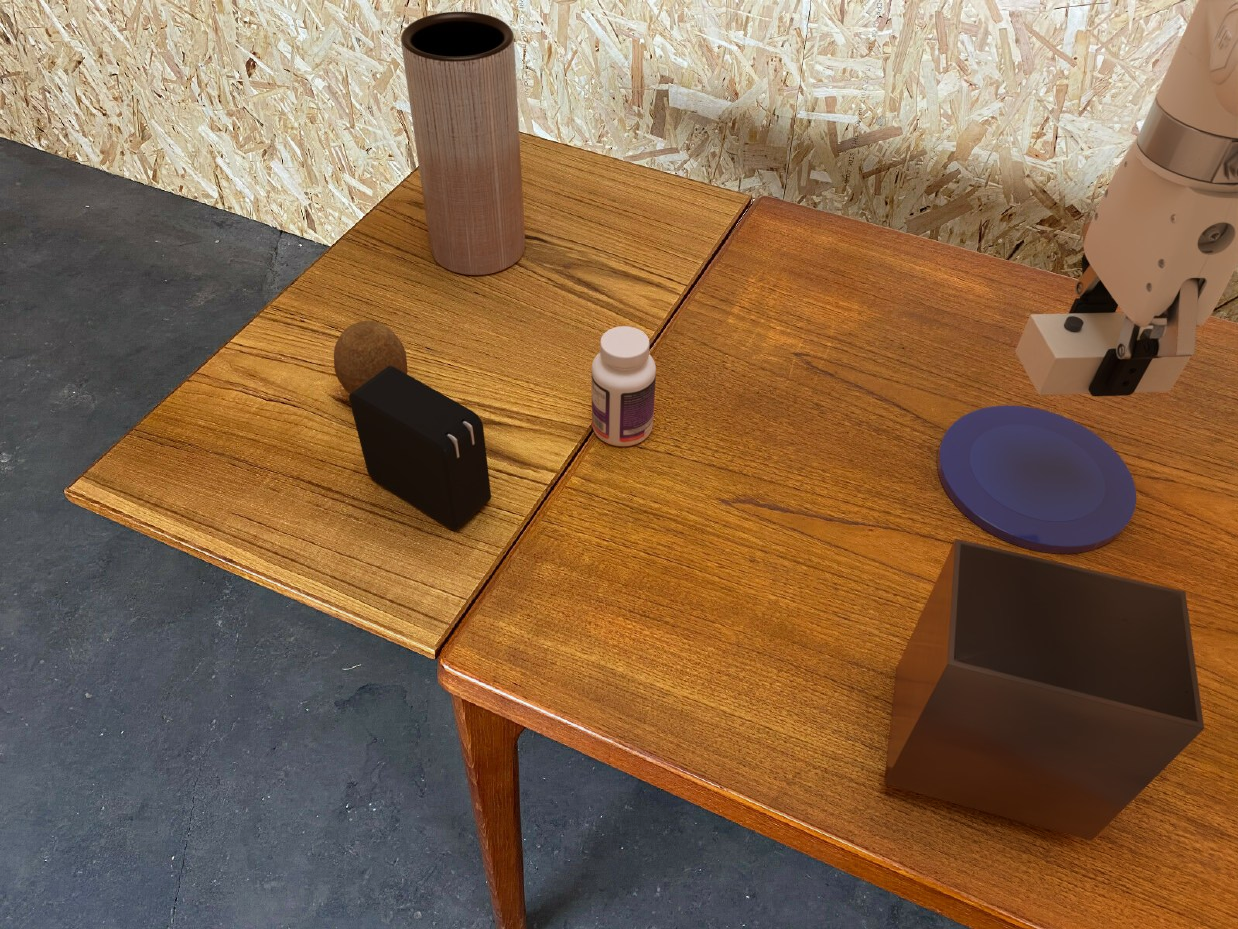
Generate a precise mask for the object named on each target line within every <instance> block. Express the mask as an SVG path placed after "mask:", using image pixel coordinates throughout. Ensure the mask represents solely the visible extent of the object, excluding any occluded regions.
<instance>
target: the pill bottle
mask: <svg viewBox="0 0 1238 929" xmlns="http://www.w3.org/2000/svg"><path fill="white" fill-rule="evenodd" d="M590 374H591V426H592V430H593V432H594V434H595V435H596V437H597V438H598V439H600V440H601V441H602V442H604V443H606V444H609V445H611V446H614V447H615V446H616V447H631V446H635V445H637V444H639V443H642V442H643V441H645V440H646V439H647V438H648V437H649V436H650V434H651V433H652V430H653V427H654V416H655V414H654V413H655V396H656V395H655V394H656V381H657V380H656V379H657V366H656V362H655V360H654V358H653V356H652V355H651V353H650V339H649V336H648V335H647V334H646V333H645V332H644V331H643V330H642V329H639V328H637V327H633V326H629V325H623V326H622V325H621V326H615V327H612V328H610V329H607V330H606V331H605V332H603V334H602V335H601V338H600V344H599V352H598V353H597V354H596V355H595V357H594V358H593V361H592V364H591V373H590Z"/></svg>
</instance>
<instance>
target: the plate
mask: <svg viewBox="0 0 1238 929" xmlns="http://www.w3.org/2000/svg"><path fill="white" fill-rule="evenodd" d="M936 468H937V473H938V478H939V480H940V482H941V486H942V487H943V489H944V491H945V493H946V495H947V497H949V499H950V500H951V502H952V503H953V504H954V505H955V507H956V508H957V509H958V510H959V512H961V513H962V514H963V515H964V516H966V518H967V519H969V520H970V521H971V522H972V523H974V524H975V525H976V526H977V527H979V528H981V529H982V530H983V531H985V532H987V533H988V534H990V535H992V536H994V537H995V538H998V539H1000V540H1002V541H1004V542H1006V543H1009V544H1012V545H1015V546H1017V547H1020V548H1023V549H1028V550H1031V551H1036V552H1041V553H1047V554H1058V555H1064V554H1066V555H1069V554H1079V553H1086V552H1089V551H1094V550H1096V549H1099V548H1101V547H1103V546H1106V545H1108V544H1109V543H1111V542H1113V541H1114V540H1116V539H1117V538H1118V537H1119V536H1120V535H1121V534H1122V533H1123V532H1124V530H1125V529H1126V528H1127V526H1128V524H1129V523H1130V521H1131V520H1132V518H1133V516H1134V515H1135V514H1134V513H1135V511H1136V505H1137V490H1136V489H1137V488H1136V483H1135V481H1134V478H1133V476H1132V473H1131V472H1130V470H1129V468H1128V466H1127V464H1126V463H1125V461H1124V460H1123V459H1122V457H1121V455H1119V453H1117V452H1116V451H1115V449H1114V448H1113V447H1112V446H1110V444H1108V443H1107V441H1105V440H1104V439H1103V438H1101V437H1100V436H1099V435H1097V434H1096V433H1094V431H1091V430H1090V429H1089V428H1087V427H1085V426H1084V425H1083V424H1080V423H1078V422H1076V421H1074V420H1072V419H1070V418H1068V417H1065V416H1063V415H1061V414H1057V413H1055V412H1052V411H1048V410H1045V409H1040V408H1036V407H1030V406H1023V405H1014V404H1013V405H1010V404H1009V405H995V406H987V407H983V408H979V409H976V410H973V411H970V412H968V413H966V414H964V415H963V416H961V417H959V418H958V419H957V420H956V421H954V422H953V423H952V424H951V425H950V426H949V427H948V428H947V430H946V432H945V433H944V434H943V436H942V439H941V441H940V444H939V447H938V450H937V455H936Z"/></svg>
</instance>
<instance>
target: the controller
mask: <svg viewBox="0 0 1238 929" xmlns="http://www.w3.org/2000/svg"><path fill="white" fill-rule="evenodd" d="M1125 315H1126V314H1125V313H1124V312H1123V311H1121V312H1120V311H1119V312H1115V313H1071V314H1069V313H1033V314H1032V313H1031V314H1030V315H1029V318H1028V319H1027V321H1026V325H1025V327H1024V329H1023V331H1022V333H1021V336H1020V339H1019V341H1018V343H1017V346H1016V348H1015V351H1014V352H1015V354H1016V356H1017V358H1018V360H1019V362H1020V363H1021V365H1022V367H1023V369H1024V371H1025V373H1026V375H1027V377H1028V378H1029V380H1030V382H1031V384H1032V386H1033V387H1034V389H1035V391H1036V393H1037V395H1038V396H1058V395H1059V396H1061V395H1091V393H1090V392H1089V390H1088V389H1089V386H1090V384H1091V382H1092V380H1093V378H1094V376H1095V374H1096V372H1097V370H1098V368H1099V367H1100V365H1101V363H1102V361H1103V359H1104V356H1105V354H1106V352H1107V351H1108V349H1114V348H1116V347H1117V343H1118V340H1119V336H1120V333H1121V329H1122V326H1123V322H1124V319H1125ZM1152 329H1153V326H1147V327H1141V328H1140V331H1139V334H1138V338H1137V340H1141V339H1147V338H1150V335H1151V332H1152ZM1191 357H1192V356H1190V357H1161V358H1156V359H1152V361H1151V363H1150V364H1149V366H1148V368H1147V370H1146V372H1145V373H1144V375H1143V377H1142V379H1141V380H1140V382H1139V384H1138V386H1137V388H1136V389H1135V391H1134V393H1133V394H1137V393H1139V394H1141V393H1170V392H1171V391H1172V390H1173V387H1174V386H1175V385H1176V382H1177V381H1178V379H1179V377H1180V376H1181V374H1182V372H1183V371H1184V369H1185V367H1186V366H1187V364H1188V362H1189V361H1190V359H1191Z"/></svg>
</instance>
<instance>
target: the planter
mask: <svg viewBox="0 0 1238 929" xmlns="http://www.w3.org/2000/svg"><path fill="white" fill-rule="evenodd" d="M400 44H401V45H400V46H401V52H402V53H401V54H402V60H403V66H404V73H405V74H404V75H405V80H406V87H407V88H406V89H407V94H408V102H409V108H410V115H411V121H412V129H413V135H414V143H415V149H416V150H415V151H416V155H417V156H416V157H417V163H418V170H419V179H420V186H421V191H422V199H423V206H424V213H425V220H426V227H427V233H428V241H429V245H430V251H431V255H432V257H433V259H434V261H436V263H437V264H439V265H440V266H441V267H442V268H444V269H446V270H448V271H451V272H454V273H457V274H462V275H468V276H484V275H490V274H494V273H498V272H501V271H503V270H505V269H508V268H510V267H512V266H513V265H514V264H516V263H517V262H518V261H519V260H520V259H521V258H522V256H523V254H524V253H525V249H526V229H525V212H524V211H525V210H524V208H525V207H524V192H523V175H522V159H521V158H522V157H521V140H520V139H521V136H520V120H519V104H518V87H517V86H518V85H517V67H516V66H517V65H516V51H515V49H516V47H515V35H514V32H513V29H512V28H511V27H510V26H509V25H508V24H507V23H506V22H505V21H503V20H501V19H500V18H498V17H496V16H493V15H490V14H486V13H481V12H475V11H446V12H439V13H435V14H434V13H433V14H431V15H427V16H424V17H421V18H419V19H417V20H415V21H413V22H411V23H410V24H408V25H407V27H405V28H404V30H403V31H402V33H401V36H400Z"/></svg>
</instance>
